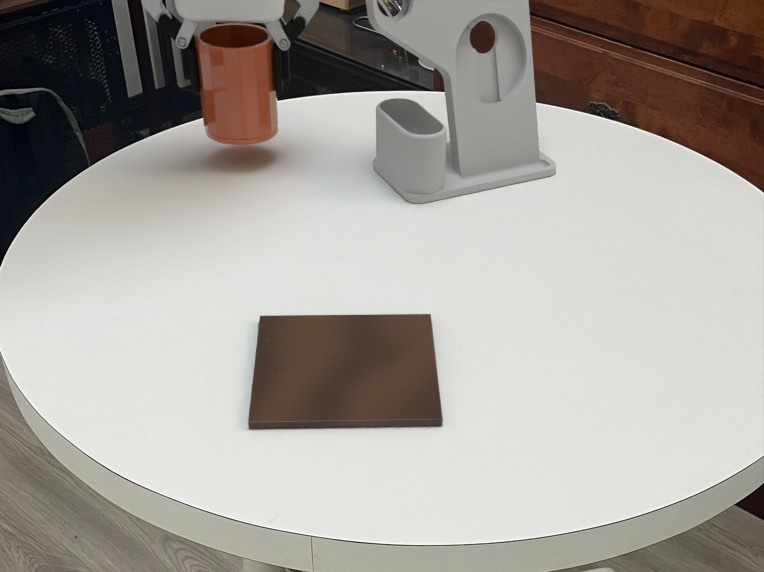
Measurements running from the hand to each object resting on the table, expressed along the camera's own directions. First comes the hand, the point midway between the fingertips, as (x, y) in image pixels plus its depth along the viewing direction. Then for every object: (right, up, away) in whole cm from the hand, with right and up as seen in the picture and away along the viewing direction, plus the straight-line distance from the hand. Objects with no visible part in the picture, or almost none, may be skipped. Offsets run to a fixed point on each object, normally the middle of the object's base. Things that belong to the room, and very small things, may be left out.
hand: (238, 86), depth 98 cm
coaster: (+12, -32, -21) cm, 40 cm away
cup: (0, -3, +3) cm, 4 cm away
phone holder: (+22, -7, +4) cm, 24 cm away
